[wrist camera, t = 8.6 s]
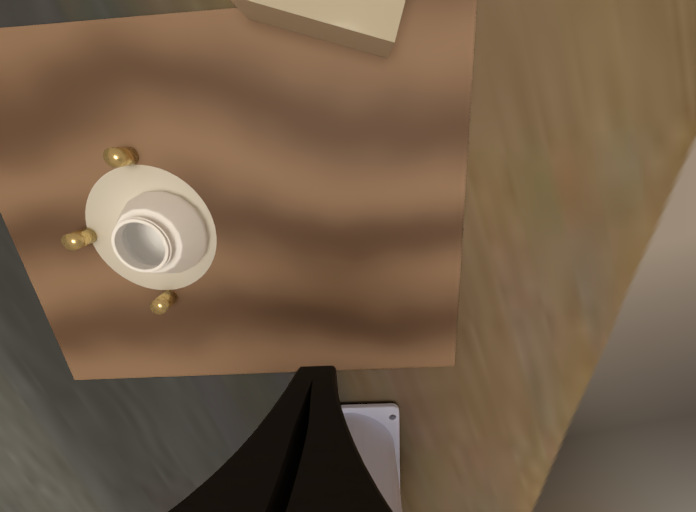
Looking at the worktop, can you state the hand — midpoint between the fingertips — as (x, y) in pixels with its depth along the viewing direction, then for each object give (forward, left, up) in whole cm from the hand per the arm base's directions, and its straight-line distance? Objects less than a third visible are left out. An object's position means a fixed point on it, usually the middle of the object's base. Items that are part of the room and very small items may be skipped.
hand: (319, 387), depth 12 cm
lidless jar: (+4, +10, -10) cm, 14 cm away
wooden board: (+4, +6, -10) cm, 13 cm away
